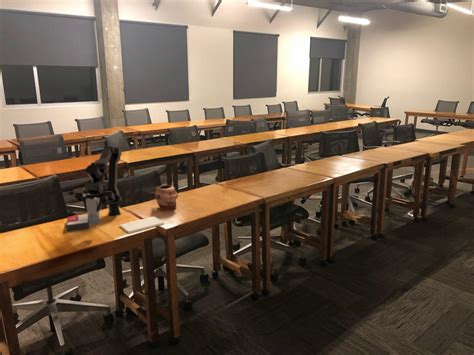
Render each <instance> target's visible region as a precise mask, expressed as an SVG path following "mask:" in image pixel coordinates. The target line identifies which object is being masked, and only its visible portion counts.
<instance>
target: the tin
mask: <svg viewBox="0 0 474 355" xmlns="http://www.w3.org/2000/svg"><path fill="white" fill-rule="evenodd" d="M98 199H99V198H97V197H88V198H86V207H87V212H86V214H87V216H88V224H89V226H97V225H99V224H100V223H101V218H100V211H99V212H98V211H97V209H98V204H99V200H98Z"/></svg>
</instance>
